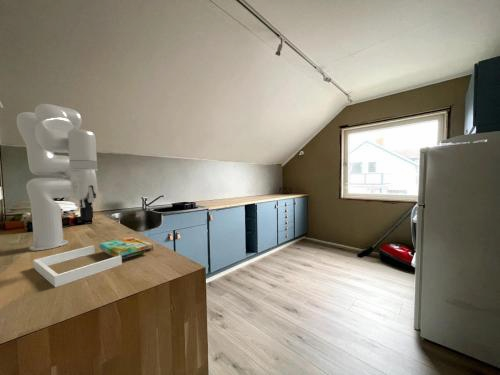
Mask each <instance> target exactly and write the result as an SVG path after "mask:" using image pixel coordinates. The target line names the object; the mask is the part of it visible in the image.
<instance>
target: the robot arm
mask: <svg viewBox="0 0 500 375" xmlns="http://www.w3.org/2000/svg"><path fill="white" fill-rule="evenodd" d="M82 123H83V119H82V117H81V114H80V113H79V112H78V110H76V109H72V108H68V107H65V106H64V107H63V106H59V105H57V104H56V105H55V104H50V103H41V104H38V105H37V106H35V108H34V112H32V111H27V112H25V111H24V112H21V113H18V115H17V116H16V125H17V129H18V131H19V134H20V136H21V137H22V140H23V141H24V143H25V146H26V154H27V161H28V162H27V163H28V167H29V171H30V172H31V173H32V174H33V175H35V176H36V175H37V176H62V177H37V178H32V179H30V180H28V181H27V183H26V186H25V187H26V192H27V195H28V198H29V202H30V208H31V209H30V210H31V211H30V212H31V222H32V232H33V233H32V234H33V245H30V246H29V247H28V249H29V251H35V252H36V251H44V250H50V249H56V248H59V246H60V247H62V246H65V245H67V244H68V242H69V241H68V240H67V239H64V235H63V234H64V233H63V222H62V220H63V219H62V210H61V209H62V208H61V205H60V204H58V203H57V202H56V201H55V200H54V199H60V198H61V199H63V198H70V197H71V198H72V199H73V200H78V203H79V204H78V205H79V215H80V217H79V218H80V219H81V220H90V219H94V208H93V207H94V202H95V199H96V198H98V180H97V179H98V178H97V174H96V172H98V161H97V159H98V158H97V155H98V154H97V141H96V134H95V133H94V132H92V131H90V130H87V129H86V130H85V129H81V126H82ZM55 153H61V154H62V153H63V154H68V155H58V154H55Z"/></svg>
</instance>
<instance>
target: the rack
mask: <svg viewBox="0 0 500 375" xmlns="http://www.w3.org/2000/svg"><path fill="white" fill-rule="evenodd" d="M95 249H96V248H95V245H89V246H86V247H80V248H76V249H72V250H69V251H65V252H60V253H57V254H52V255H48V256H44V257H39V258H35V259H33V268H34V270H35V271H36V272H37V273H39V274H40V275H41V276H42V277H43V278H44V279H45V280H47V282H48V283H50V284H51V285H52V286H53V287H54V288H57V287H60V286H63V285H66V284H69V283H72V282H74V281H78V280H80V279H83V278H87V277H90V276H92V275H96V274H98V273H99V274H100V273H101V272H105V271H108V270H110V269H112V268H116V267H118V266H121V265H123V259H122V257H121V256H116V257H110V258H107V259H104V260H100V261H97V262H93V263H91V264H88V265H85V266H81V267H78V268H74V269H71V270H68V271H65V272H62V273H57V272H56V271H55V270H53V269H52V268H50V267H49V266H52V265H56V264H59V263H63V262H66V261H70V260H75V259H78V258H83V257H85V256H88V255H89V256H90V255H92V254H95V252H96V250H95Z"/></svg>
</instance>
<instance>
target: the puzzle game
mask: <svg viewBox="0 0 500 375" xmlns="http://www.w3.org/2000/svg"><path fill="white" fill-rule="evenodd" d="M152 245H153V244H152V243H150V242H147V241H144V240H142V239H139V238H136V237H134V236H127V237H121V238H118V239H112V240H108V241H104V242H100V243H99V244H98V247H99V249H100V250H101V251H103V252H104V253H105V254H107V255H109V256H110V257H111V258H113V257H116V256H121V257H122V260H124V259H128V258H131V257H135V256H138V255H142V254H144V253H145V252H146V251H148V250H147V249H149V248H152Z"/></svg>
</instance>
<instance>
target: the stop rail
mask: <svg viewBox="0 0 500 375" xmlns="http://www.w3.org/2000/svg"><path fill="white" fill-rule="evenodd" d="M146 251H149V252H152V251H154V245H153V244H152V248H149V249H147V250H146Z"/></svg>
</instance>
